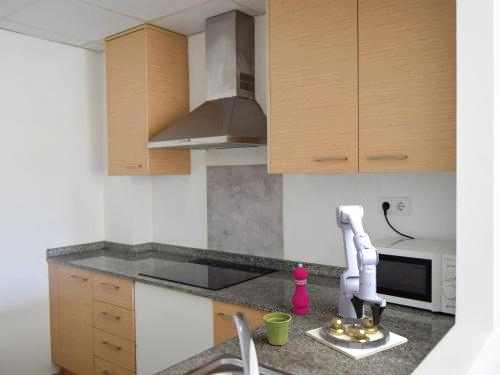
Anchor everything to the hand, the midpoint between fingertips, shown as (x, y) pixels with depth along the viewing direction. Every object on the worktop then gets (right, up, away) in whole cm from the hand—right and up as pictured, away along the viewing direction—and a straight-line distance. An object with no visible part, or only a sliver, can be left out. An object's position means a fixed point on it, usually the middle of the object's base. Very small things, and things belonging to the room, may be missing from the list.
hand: (367, 321), depth 146 cm
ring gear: (-5, -4, -3) cm, 7 cm away
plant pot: (-32, -6, -5) cm, 33 cm away
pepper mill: (-21, -4, +24) cm, 32 cm away
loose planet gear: (0, -4, 0) cm, 4 cm away
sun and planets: (-7, -4, -4) cm, 9 cm away
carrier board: (-5, -5, -3) cm, 8 cm away
